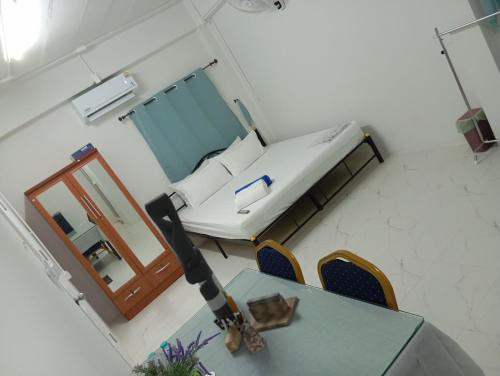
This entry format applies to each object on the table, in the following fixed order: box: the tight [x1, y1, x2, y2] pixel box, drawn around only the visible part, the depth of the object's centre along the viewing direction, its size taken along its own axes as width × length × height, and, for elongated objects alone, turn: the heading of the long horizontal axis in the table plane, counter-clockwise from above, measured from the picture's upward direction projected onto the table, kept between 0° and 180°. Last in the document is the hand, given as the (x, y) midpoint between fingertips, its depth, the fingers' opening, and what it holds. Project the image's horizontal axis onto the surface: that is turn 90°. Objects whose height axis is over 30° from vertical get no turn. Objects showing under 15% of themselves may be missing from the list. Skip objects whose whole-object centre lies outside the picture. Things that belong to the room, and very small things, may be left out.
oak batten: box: [224, 309, 247, 354], centre depth 192 cm, size 4×20×5 cm, turn 169°
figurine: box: [238, 321, 266, 354], centre depth 176 cm, size 7×7×12 cm
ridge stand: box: [245, 291, 299, 332], centre depth 190 cm, size 20×16×10 cm
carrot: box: [220, 290, 239, 312], centre depth 204 cm, size 5×5×15 cm
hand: (238, 334), depth 192 cm, fingers closed on oak batten, 4 cm apart
